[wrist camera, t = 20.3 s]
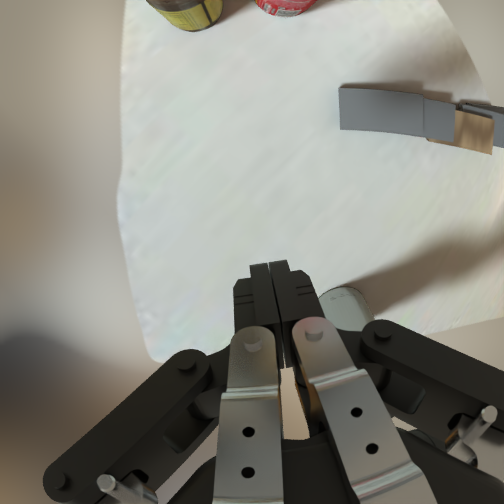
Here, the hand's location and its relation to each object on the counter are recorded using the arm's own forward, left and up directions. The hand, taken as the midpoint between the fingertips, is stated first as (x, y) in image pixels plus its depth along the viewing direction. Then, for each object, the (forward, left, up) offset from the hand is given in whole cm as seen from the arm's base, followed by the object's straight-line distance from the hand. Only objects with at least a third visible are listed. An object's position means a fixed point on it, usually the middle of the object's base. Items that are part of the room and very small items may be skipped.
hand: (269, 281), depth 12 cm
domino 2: (+4, -17, -25) cm, 30 cm away
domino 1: (+5, -12, -25) cm, 28 cm away
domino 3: (+3, -25, -25) cm, 35 cm away
